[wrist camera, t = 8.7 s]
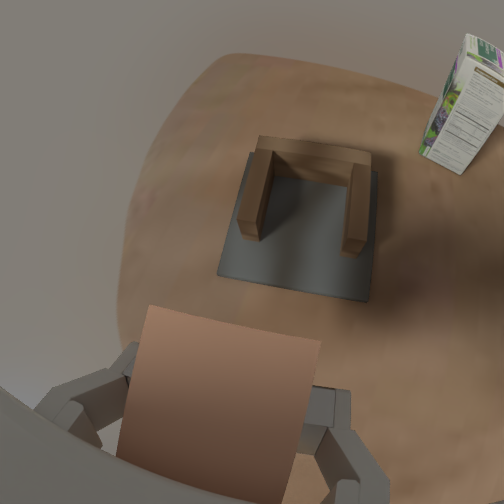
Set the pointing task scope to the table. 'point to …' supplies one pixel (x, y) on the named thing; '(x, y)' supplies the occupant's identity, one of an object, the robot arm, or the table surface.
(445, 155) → the syrup box
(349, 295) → the stop cradle
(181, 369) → the block
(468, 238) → the table surface
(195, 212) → the table surface
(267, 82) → the table surface
